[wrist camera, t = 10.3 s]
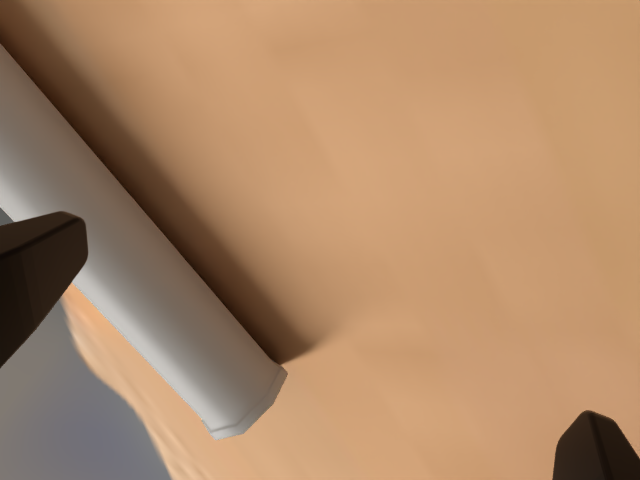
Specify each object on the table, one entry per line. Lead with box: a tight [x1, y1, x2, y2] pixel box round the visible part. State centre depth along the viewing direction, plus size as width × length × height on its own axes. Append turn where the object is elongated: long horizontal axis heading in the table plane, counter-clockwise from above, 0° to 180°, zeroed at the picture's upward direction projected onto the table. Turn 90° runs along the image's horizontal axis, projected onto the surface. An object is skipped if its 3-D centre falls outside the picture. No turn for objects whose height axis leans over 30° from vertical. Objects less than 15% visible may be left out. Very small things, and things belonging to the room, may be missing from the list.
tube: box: [0, 44, 288, 440], centre depth 26 cm, size 5×5×25 cm
